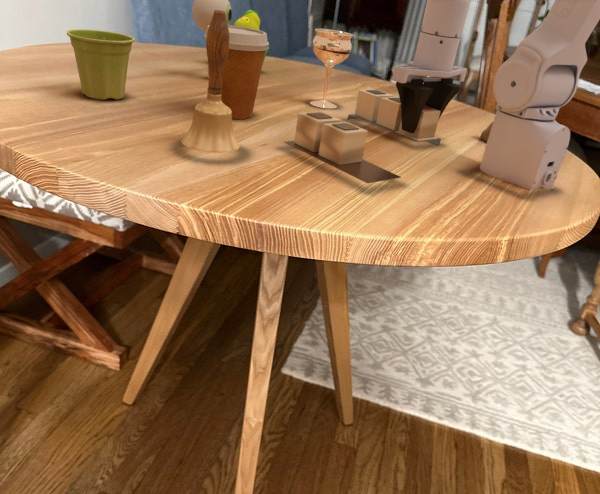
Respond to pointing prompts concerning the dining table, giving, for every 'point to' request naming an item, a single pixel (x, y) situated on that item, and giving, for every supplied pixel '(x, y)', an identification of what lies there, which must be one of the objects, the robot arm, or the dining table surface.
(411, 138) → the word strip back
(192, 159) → the dining table surface
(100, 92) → the plant pot
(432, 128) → the red-topped wooden cube
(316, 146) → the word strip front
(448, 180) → the dining table surface
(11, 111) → the dining table surface
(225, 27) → the hand bell
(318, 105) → the wineglass
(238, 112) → the disposable coffee cup
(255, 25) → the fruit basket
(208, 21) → the lollipop
